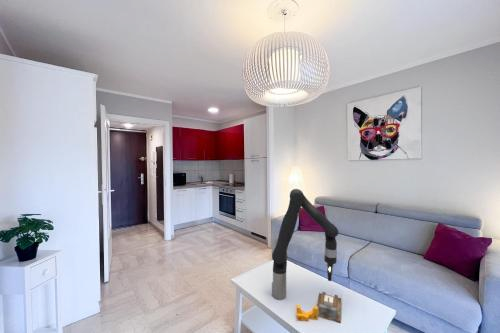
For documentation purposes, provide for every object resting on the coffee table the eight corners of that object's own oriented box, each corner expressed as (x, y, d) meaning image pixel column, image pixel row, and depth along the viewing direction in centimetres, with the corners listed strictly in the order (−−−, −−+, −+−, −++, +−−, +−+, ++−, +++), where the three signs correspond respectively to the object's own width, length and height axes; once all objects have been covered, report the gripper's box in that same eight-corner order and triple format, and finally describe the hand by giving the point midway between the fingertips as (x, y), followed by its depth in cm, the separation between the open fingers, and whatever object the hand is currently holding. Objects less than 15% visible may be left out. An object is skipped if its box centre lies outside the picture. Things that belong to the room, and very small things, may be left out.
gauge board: (315, 315, 127) (315, 305, 127) (319, 294, 147) (319, 285, 147) (340, 323, 122) (340, 312, 121) (341, 300, 142) (341, 290, 141)
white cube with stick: (324, 310, 130) (324, 296, 130) (324, 304, 135) (324, 291, 135) (332, 312, 128) (332, 298, 128) (333, 306, 133) (333, 293, 133)
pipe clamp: (297, 320, 124) (297, 310, 123) (296, 315, 128) (296, 304, 128) (318, 322, 123) (318, 311, 122) (316, 316, 127) (316, 306, 127)
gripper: (325, 249, 148) (324, 274, 148) (323, 257, 136) (322, 284, 136) (337, 251, 145) (336, 276, 145) (336, 260, 133) (335, 287, 133)
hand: (329, 280), depth 141 cm, fingers closed
